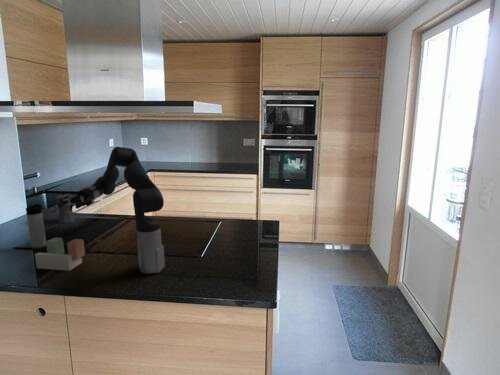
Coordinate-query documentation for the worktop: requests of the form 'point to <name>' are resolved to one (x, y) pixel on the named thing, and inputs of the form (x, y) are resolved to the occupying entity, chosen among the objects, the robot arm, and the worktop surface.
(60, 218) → the coffeepot
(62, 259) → the console
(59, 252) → the green rectangular block
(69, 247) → the terracotta rectangular block
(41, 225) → the travel mug
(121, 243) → the worktop surface
